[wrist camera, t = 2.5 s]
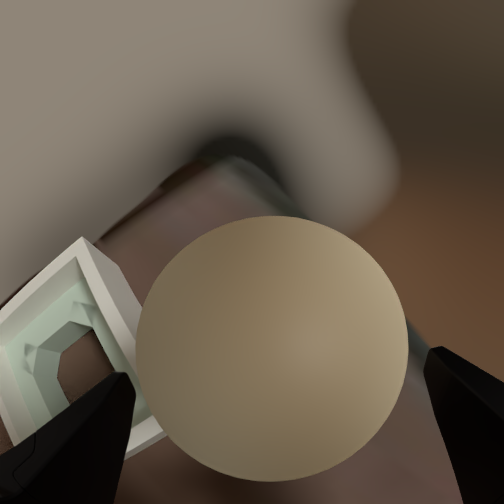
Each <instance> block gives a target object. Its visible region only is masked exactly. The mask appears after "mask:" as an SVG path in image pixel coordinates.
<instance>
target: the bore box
mask: <svg viewBox="0 0 504 504" xmlns="http://www.w3.org/2000/svg"><path fill="white" fill-rule="evenodd" d="M141 311H142V307H141V306H140V304H139V302H138V300H137V299H136V297H135V295H134V293H133V292H132V290H131V288H130V286H129V285H128V283H127V281H126V279H125V277H124V276H123V274H122V272H121V270H120V268H119V266H118V265H116V264H115V263H114V262H113V261H111V260H110V259H109V258H108V257H106V256H105V255H104V254H103V253H102V252H100V251H99V250H98V249H97V248H95V247H94V246H93V245H92V244H91V243H89V242H88V241H87V240H86V239H85V238H83V237H81V238H80V239H78V240H77V241H76V242H75V243H73V244H72V245H71V246H70V247H69V248H68V249H66V250H65V251H64V252H63V253H62V254H61V255H59V256H58V257H57V258H56V259H55V260H53V261H52V262H51V263H50V264H49V265H48V266H47V267H46V268H44V269H43V270H42V271H41V272H40V273H39V274H38V275H37V276H36V277H34V278H33V279H32V280H31V281H30V282H29V283H28V284H27V285H26V286H25V287H24V288H23V289H22V290H21V291H20V292H19V293H17V294H16V295H15V296H14V297H13V298H12V299H11V300H10V301H9V302H8V303H7V304H6V305H5V306H4V307H3V308H2V309H1V310H0V415H1V418H2V420H3V422H4V425H5V427H6V430H7V432H8V434H9V436H10V438H11V441H12V443H13V445H14V446H16V445H17V444H19V443H20V442H22V441H23V440H24V439H26V438H27V437H29V436H30V435H31V434H32V433H34V432H36V431H37V430H38V429H39V428H40V427H42V426H43V425H44V424H46V423H47V422H48V421H50V420H51V419H52V418H54V417H55V416H56V415H58V414H59V413H60V412H62V411H63V410H64V409H65V408H67V407H68V406H69V405H70V404H69V402H68V400H67V398H66V396H65V394H64V392H63V390H62V388H61V386H60V384H59V382H58V380H57V373H58V367H59V361H60V355H61V353H62V352H63V351H64V350H66V349H67V348H68V347H69V346H71V345H72V344H73V343H74V342H76V341H77V340H78V339H79V338H81V337H82V336H83V335H84V334H86V333H87V332H88V331H90V330H91V329H94V331H95V333H96V335H97V337H98V339H99V341H100V343H101V345H102V347H103V349H104V350H105V352H106V354H107V356H108V358H109V360H110V362H111V363H112V365H113V367H114V369H115V371H119V372H126V373H127V374H128V376H129V378H130V380H131V382H132V384H133V386H134V388H135V391H136V401H135V407H134V413H133V420H132V426H131V433H130V438H129V442H128V446H127V450H126V454H125V458H124V460H126V459H128V458H130V457H131V456H133V455H135V454H137V453H138V452H140V451H142V450H144V449H145V448H147V447H149V446H150V445H152V444H154V443H155V442H157V441H159V440H160V439H162V438H164V437H165V436H167V434H166V433H165V432H164V431H163V429H162V428H161V427H160V425H159V424H158V422H157V421H156V419H155V418H154V416H153V415H152V413H151V411H150V409H149V407H148V405H147V402H146V400H145V398H144V395H143V392H142V389H141V386H140V383H139V379H138V373H137V367H136V351H135V344H136V334H137V327H138V323H139V318H140V314H141Z"/></svg>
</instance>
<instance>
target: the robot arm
mask: <svg viewBox="0 0 504 504" xmlns="http://www.w3.org/2000/svg"><path fill="white" fill-rule="evenodd" d="M423 373H424V378H425V381H426V385H427V389H428V392H429V396H430V400H431V404H432V408H433V411H434V415H435V418H436V421H437V424H438V426H439V429H440V432H441V435H442V437H443V440H444V443H445V446H446V449H447V452H448V455H449V458H450V461H451V464H452V467H453V470H454V473H455V476H456V480H457V483H458V486H459V490H460V493H461V497H462V500H463V504H504V382H502V381H500V380H499V379H497V378H495V377H494V376H492V375H490V374H489V373H487V372H485V371H484V370H482V369H480V368H479V367H477V366H475V365H474V364H472V363H470V362H469V361H467V360H465V359H464V358H462V357H460V356H459V355H457V354H455V353H453V352H452V351H450V350H448V349H447V348H445V347H443V346H438V347H434V348H431V349H430V350H429V352H428V355H427V359H426V362H425V365H424V370H423ZM135 401H136V391H135V388H134V386H133V384H132V382H131V380H130V378H129V376H128V374H127V373H126V372H119V371H115V372H112V373H111V374H110V375H108V376H107V377H106V378H104V379H103V380H102V381H101V382H99V383H98V384H97V385H95V386H94V387H93V388H92V389H90V390H89V391H88V392H86V393H85V394H84V395H82V396H81V397H80V398H78V399H77V400H76V401H75V402H73V403H72V404H71V405H69V406H68V407H67V408H65V409H64V410H63V411H62V412H60V413H59V414H58V415H56V416H55V417H54V418H52V419H51V420H50V421H48V422H47V423H46V424H44V425H43V426H42V427H40V428H39V429H38V430H37V431H36V432H34V433H32V434H31V435H30V436H29V437H27V438H26V439H24V440H23V441H22V442H20V443H19V444H17V445H16V446H14V447H13V448H11V449H10V450H8V451H7V452H5V453H3V454H2V455H0V504H113V503H114V499H115V494H116V490H117V486H118V482H119V478H120V474H121V470H122V466H123V462H124V458H125V454H126V450H127V446H128V442H129V438H130V433H131V426H132V420H133V413H134V407H135Z"/></svg>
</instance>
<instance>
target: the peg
mask: <svg viewBox="0 0 504 504" xmlns="http://www.w3.org/2000/svg"><path fill="white" fill-rule="evenodd" d="M135 351H136V367H137V373H138V379H139V383H140V386H141V389H142V392H143V395H144V398H145V400H146V402H147V405H148V407H149V409H150V411H151V413H152V415H153V416H154V418H155V419H156V421H157V422H158V424H159V425H160V427H161V428H162V429H163V431H164V432H165V433H166V434H167V435H168V436H169V438H170V439H171V440H172V441H173V442H174V443H175V444H176V445H177V446H178V447H180V448H181V449H182V450H183V451H184V452H185V453H186V454H188V455H189V456H191V457H192V458H194V459H195V460H197V461H198V462H200V463H202V464H203V465H205V466H208V467H210V468H212V469H214V470H216V471H218V472H221V473H224V474H227V475H230V476H233V477H236V478H241V479H247V480H253V481H270V482H276V481H286V480H295V479H299V478H303V477H307V476H311V475H314V474H317V473H319V472H322V471H324V470H327V469H329V468H331V467H333V466H335V465H337V464H339V463H340V462H342V461H344V460H346V459H347V458H349V457H350V456H351V455H353V454H354V453H355V452H357V451H358V450H359V449H361V448H362V447H363V446H364V445H365V444H366V443H367V442H368V441H369V440H370V439H371V438H372V437H373V436H374V435H375V434H376V433H377V431H378V430H379V429H380V427H381V426H382V425H383V423H384V422H385V421H386V419H387V418H388V416H389V414H390V412H391V411H392V409H393V407H394V405H395V403H396V401H397V398H398V396H399V393H400V391H401V388H402V385H403V381H404V377H405V373H406V368H407V358H408V334H407V327H406V322H405V316H404V313H403V310H402V307H401V304H400V301H399V298H398V296H397V294H396V292H395V290H394V288H393V286H392V284H391V282H390V280H389V279H388V277H387V276H386V274H385V273H384V272H383V270H382V268H381V267H380V266H379V265H378V264H377V263H376V261H375V260H374V259H373V258H372V257H371V256H370V255H369V254H368V253H367V252H366V251H364V249H362V248H361V247H360V246H359V245H358V244H356V243H355V242H353V241H352V240H351V239H349V238H347V237H346V236H345V235H343V234H341V233H339V232H337V231H335V230H333V229H331V228H329V227H327V226H324V225H321V224H318V223H316V222H313V221H308V220H304V219H300V218H294V217H285V216H262V217H254V218H247V219H243V220H239V221H235V222H231V223H228V224H226V225H223V226H220V227H218V228H215V229H213V230H212V231H210V232H208V233H206V234H204V235H202V236H200V237H199V238H197V239H196V240H194V241H193V242H192V243H190V244H189V245H187V246H186V247H185V248H184V249H183V250H182V251H180V252H179V253H178V254H177V255H176V256H175V257H174V258H173V259H172V260H171V261H170V262H169V263H168V265H167V266H166V267H165V268H164V269H163V271H162V272H161V274H160V275H159V276H158V278H157V279H156V281H155V282H154V284H153V286H152V288H151V290H150V292H149V294H148V295H147V298H146V300H145V303H144V306H143V308H142V311H141V314H140V318H139V323H138V327H137V334H136V344H135Z"/></svg>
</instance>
